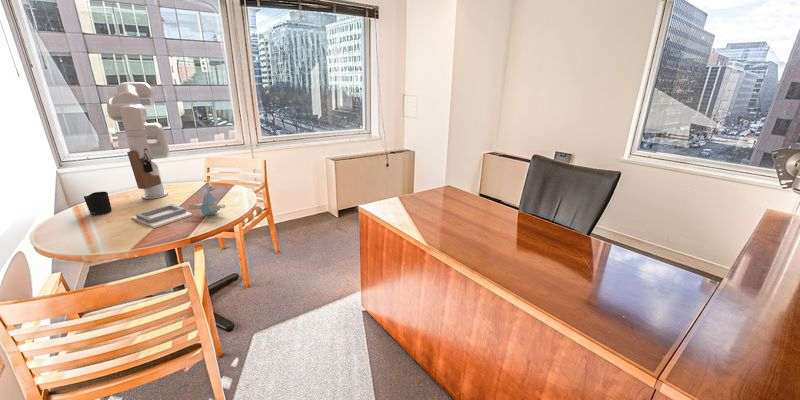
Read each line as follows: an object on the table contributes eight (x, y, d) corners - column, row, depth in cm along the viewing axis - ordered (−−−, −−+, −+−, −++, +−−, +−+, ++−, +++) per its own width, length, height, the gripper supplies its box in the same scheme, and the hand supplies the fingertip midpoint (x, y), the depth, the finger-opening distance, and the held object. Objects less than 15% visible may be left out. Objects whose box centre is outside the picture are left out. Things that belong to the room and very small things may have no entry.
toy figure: (232, 211, 178) (227, 184, 173) (220, 219, 169) (215, 191, 163) (203, 209, 180) (197, 183, 175) (190, 217, 170) (183, 189, 165)
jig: (131, 218, 168) (130, 213, 167) (169, 207, 183) (168, 202, 182) (154, 228, 158) (153, 222, 157) (192, 215, 173) (191, 210, 172)
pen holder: (88, 212, 175) (82, 194, 172) (111, 207, 182) (105, 190, 178) (90, 217, 169) (84, 198, 166) (114, 212, 176) (108, 194, 172)
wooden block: (154, 183, 168) (144, 148, 161) (161, 183, 167) (151, 148, 161) (137, 188, 160) (126, 152, 153) (145, 189, 159) (134, 152, 152)
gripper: (118, 132, 155) (128, 170, 161) (135, 136, 147) (146, 175, 153) (136, 130, 161) (146, 166, 167) (154, 134, 153) (163, 172, 159)
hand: (146, 170), depth 160 cm, fingers closed on wooden block, 5 cm apart
